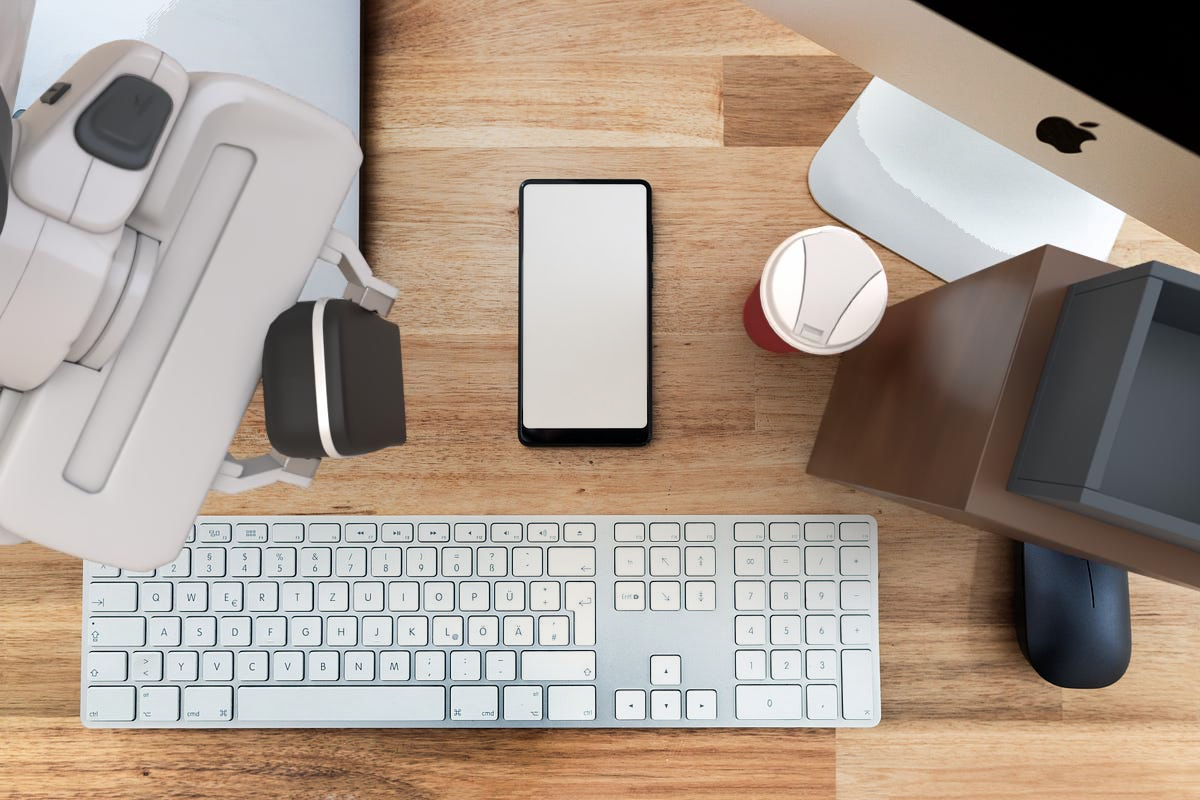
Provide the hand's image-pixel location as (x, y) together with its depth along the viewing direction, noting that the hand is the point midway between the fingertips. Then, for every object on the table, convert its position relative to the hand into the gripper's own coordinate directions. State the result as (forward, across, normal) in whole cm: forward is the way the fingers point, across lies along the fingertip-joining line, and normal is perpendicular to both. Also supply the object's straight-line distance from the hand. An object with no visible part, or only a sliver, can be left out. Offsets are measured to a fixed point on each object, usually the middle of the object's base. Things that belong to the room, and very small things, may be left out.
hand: (350, 384), depth 40 cm
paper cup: (+32, +16, +3) cm, 36 cm away
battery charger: (+4, 0, +5) cm, 6 cm away
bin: (+21, +13, -26) cm, 36 cm away
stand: (+40, +13, -6) cm, 43 cm away
